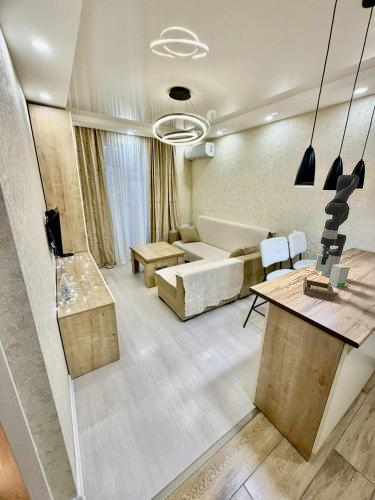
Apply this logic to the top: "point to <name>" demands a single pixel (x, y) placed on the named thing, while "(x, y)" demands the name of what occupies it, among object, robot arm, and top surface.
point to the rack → (317, 293)
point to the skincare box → (339, 275)
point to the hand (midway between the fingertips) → (322, 263)
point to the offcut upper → (319, 288)
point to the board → (319, 266)
